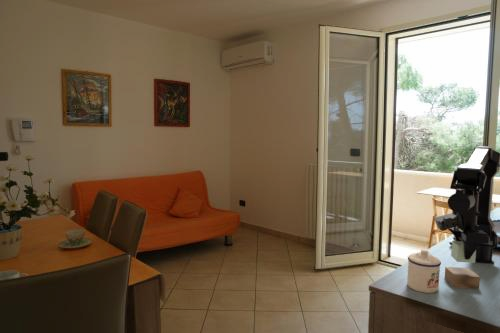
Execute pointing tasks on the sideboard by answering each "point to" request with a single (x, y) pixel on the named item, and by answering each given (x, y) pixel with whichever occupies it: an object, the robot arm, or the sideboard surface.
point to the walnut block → (462, 277)
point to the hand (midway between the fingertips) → (463, 256)
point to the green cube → (460, 252)
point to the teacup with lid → (423, 272)
